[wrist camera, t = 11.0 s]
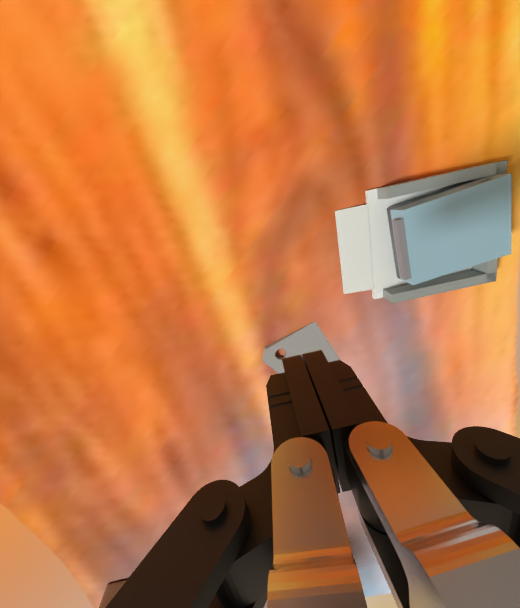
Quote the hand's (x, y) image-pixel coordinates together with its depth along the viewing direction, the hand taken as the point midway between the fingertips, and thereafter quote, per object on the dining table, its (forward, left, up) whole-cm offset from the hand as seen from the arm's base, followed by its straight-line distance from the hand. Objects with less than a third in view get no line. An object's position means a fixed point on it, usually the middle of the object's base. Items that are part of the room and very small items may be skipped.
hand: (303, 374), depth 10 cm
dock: (+1, +16, -20) cm, 25 cm away
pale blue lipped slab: (0, +17, -20) cm, 26 cm away
